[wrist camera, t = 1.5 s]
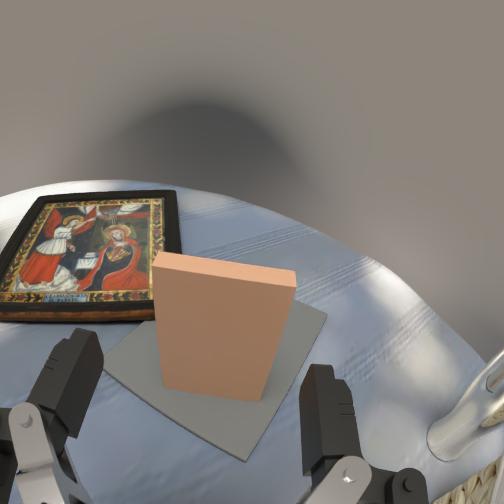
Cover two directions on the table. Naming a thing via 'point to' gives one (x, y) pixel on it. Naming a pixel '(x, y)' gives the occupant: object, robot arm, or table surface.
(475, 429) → the beer glass
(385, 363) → the table surface
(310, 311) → the mat
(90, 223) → the religious icon
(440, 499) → the storage basket
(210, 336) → the tile
